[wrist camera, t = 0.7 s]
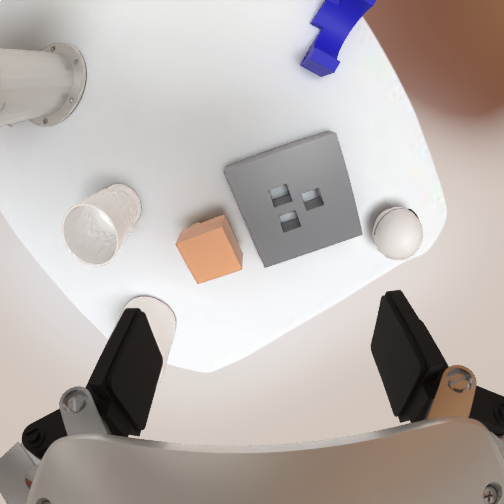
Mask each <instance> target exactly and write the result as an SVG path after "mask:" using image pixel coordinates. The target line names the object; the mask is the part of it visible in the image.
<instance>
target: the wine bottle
mask: <svg viewBox="0 0 504 504" xmlns="http://www.w3.org/2000/svg"><path fill="white" fill-rule="evenodd" d="M126 308H140V309H141V311H142V312H145V314H146V316H147V319H148V322H149V324H150V327H151V330H152V332H153V335H154V337H155V340H156V342H157V345H158V347H159V350H160V352H161V355H162V357H163V366H162V369H161V372H160V376H159V379H158V383H157V386H158V385H159V383H160V382H161V380H162V378H163V374H164V370H165V367H166V363H167V359H168V355H169V351H170V347H171V344H172V340H173V336H174V333H175V329H176V320H175V316H174V314H173V312H172V311H171V310H170V308H169V307H168V306H167V305H165V304H164V303H163V302H161V301H159V300H157V299H155V298H151V297H137V298H134V299H132V300H131V301H129V302H128V303H127V304H126V306H125V307H124V309H123V311H122V313H121V315H122V314H123V312H124V310H125V309H126ZM121 315H120V317H121ZM120 317H119V319H120ZM119 319H118V321H119ZM118 321H117V323H118ZM117 323H116V325H117ZM116 325H115V327H116ZM115 327H114V329H115ZM114 329H113V331H114ZM113 331H112V333H113ZM157 386H156V388H157Z"/></svg>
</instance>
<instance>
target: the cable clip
mask: <svg viewBox="0 0 504 504" xmlns="http://www.w3.org/2000/svg"><path fill="white" fill-rule="evenodd" d="M375 1H376V0H325V1H324V3H323V5H322V6H321V8H320V9H319V11H318V13H317V14H316V16H315V17H314V19H313V21H312V22H311V24H312V25H314V26H315V27H317V28H319V29H321V31H320V32H319V34H318V36H317V37H316V39H315V41H314V42H313V44H312V46H311V47H310V49H309V51H308V53H307V54H306V56H305V58H304V59H303V61H302V63H301V66H302V67H304V68H306V69H308V70H310V71H312V72H314V73H315V74H317V75H319V76H321V77H323V76H326V75H328V74H331V73H334V72H335V70H336V68H337V67H338V65H339V63H340V61H338V60H337V56H338V53H339V50H340V48H341V46H342V44H343V42H344V41H345V39H346V37H347V36H348V34H349V32H350V31H351V30H352V28H353V27H354V25H355V24H356V23H357V21H358V20H359V19H360V18H361V17H362V16H363V14H364V13H365V12H366V11H367V10H368V9H370V8H371V7H372V6H373V5H374V3H375Z"/></svg>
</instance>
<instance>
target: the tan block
mask: <svg viewBox="0 0 504 504" xmlns="http://www.w3.org/2000/svg"><path fill="white" fill-rule="evenodd" d="M176 246H177V248H178V250H179V252H180V254H181V255H182V257H183V259H184V261H185V263H186V264H187V266H188V268H189V270H190V272H191V273H192V275H193V277H194V279H195V280H196V282H197V284H200V283H203V282H206V281H209V280H212V279H215V278H218V277H221V276H224V275H227V274H230V273H233V272H236V271H239V270H242V258H243V253H242V251H241V249H240V247H239V244H238V242H237V240H236V238H235V236H234V233H233V231H232V229H231V226H230V224H229V222H228V220H227V218H226V216H225V214H223V215H220V216H218V217H215V218H212V219H210V220H207V221H205V222H202V223H200V221H199V222H196V223H194V224H192V225H191V227H189V228H187V229H184V230H182V232H181V234H180V236H179V238H178V240H177V242H176Z"/></svg>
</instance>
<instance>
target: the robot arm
mask: <svg viewBox="0 0 504 504" xmlns="http://www.w3.org/2000/svg"><path fill="white" fill-rule="evenodd" d="M85 81H86V67H85V62H84V59H83V57H82V55H81V53H80V52H79V51H78V50H77V49H76V48H75V47H73V46H71V45H68V44H63V43H57V44H52V45H50V46H47V47H46V48H44V49H42V50H41V51H32V50H20V49H0V126H3V125H7V124H8V125H9V126H10V127H12V126H14V125H15V124H16V123H17V122H20V121H24V120H30V121H31V122H32V123H34V124H36V125H38V126H50V125H54V124H57V123H59V122H61V121H63V120H64V119H65V118H66V117H68V116H69V115H70V113H71V112H72V111H73V110H74V109H75V107H76V106H77V104H78V102H79V100H80V98H81V96H82V93H83V90H84V87H85ZM371 351H372V354H373V357H374V360H375V362H376V365H377V367H378V370H379V373H380V376H381V378H382V381H383V384H384V387H385V390H386V393H387V396H388V399H389V402H390V404H391V408H392V411H393V413H394V415H395V416H396V417H397V416H398V417H399V420H400V422H405V421H409V420H410V421H411V423H409V424H405V425H401V426H397V427H393V428H388V429H384V430H379V431H374V432H369V433H364V434H359V435H354V436H348V437H341V438H335V439H328V440H320V441H312V442H303V443H292V444H278V445H257V446H256V445H255V446H218V445H216V446H215V445H194V444H181V443H169V442H161V441H152V440H144V439H136V438H129V437H128V435H134V436H140V432H141V430H144V429H145V426H146V423H147V419H148V415H149V411H150V408H151V404H152V400H153V397H154V393H155V390H156V386H157V383H158V379H159V376H160V372H161V369H162V366H163V357H162V355H161V352H160V350H159V347H158V345H157V342H156V340H155V337H154V335H153V332H152V330H151V327H150V324H149V322H148V319H147V316H146V314H145V312H142V311H141V309H140V308H126V309H125V310H124V312H123V314H122V315H121V317H120V319H119V321H118V323H117V325H116V327H115V329H114V331H113V333H112V334H111V336H110V338H109V340H108V342H107V344H106V346H105V348H104V350H103V352H102V354H101V356H100V358H99V360H98V363H97V365H96V367H95V369H94V371H93V373H92V375H91V377H90V379H89V382H88V384H87V386H86V388H84V387H73V388H70V389H69V390H67V391H66V392H65V393H64V394H63V395H62V397H61V399H60V402H59V407H60V409H58V410H56V411H54V412H53V413H51V414H49V415H47V416H45V417H43V418H41V419H39V420H37V421H35V422H33V423H32V424H30V425H28V426H27V427H26V429H25V430H24V432H23V434H22V443H21V444H20V443H19V442H17V443H16V444H15V445H14V446H13V447H12V448H11V449H10V450H9V451H8V452H7V453H5V454H4V455H3V456H2V457H1V458H0V493H1V494H2V496H3V498H4V499H5V501H6V503H7V504H504V397H503V396H501V395H498V394H496V393H493V392H491V391H488V390H486V389H484V388H481V387H479V386H476V378H475V375H474V374H473V373H472V371H471V370H469V369H468V368H466V367H464V366H461V365H453V366H451V367H449V366H448V365H447V363H446V361H445V359H444V357H443V356H442V354H441V352H440V350H439V349H438V347H437V345H436V344H435V342H434V340H433V338H432V337H431V335H430V333H429V331H428V330H427V328H426V326H425V325H424V323H423V322H422V321H421V320H419V318H418V316H417V315H416V313H415V312H414V310H413V308H412V307H411V305H410V304H409V302H408V300H407V299H406V297H405V296H404V294H403V293H402V292H401V290H395V291H388V292H386V294H385V296H382V297H381V302H380V307H379V311H378V316H377V321H376V325H375V330H374V334H373V338H372V342H371Z"/></svg>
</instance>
